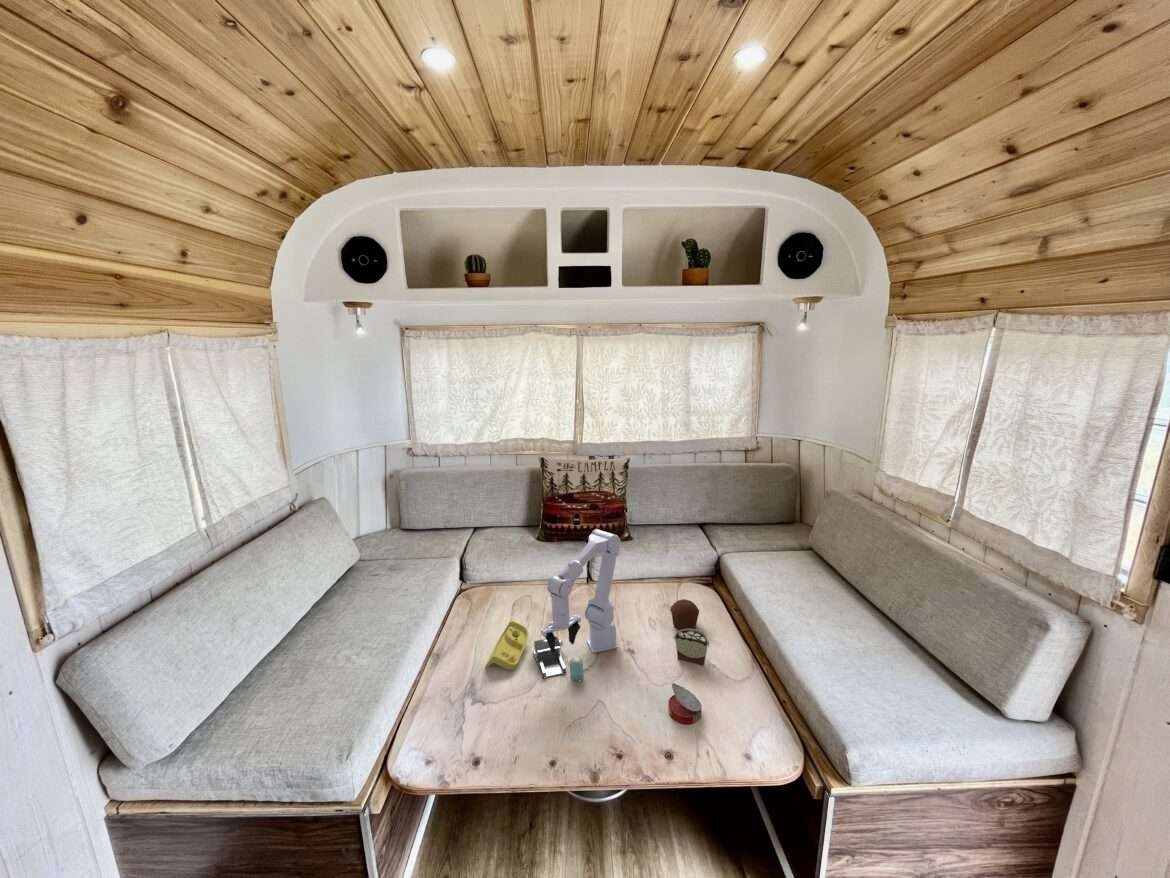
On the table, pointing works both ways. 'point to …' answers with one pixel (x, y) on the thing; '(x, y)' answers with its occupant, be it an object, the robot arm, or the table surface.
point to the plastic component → (509, 646)
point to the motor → (549, 658)
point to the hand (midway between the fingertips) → (562, 647)
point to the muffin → (684, 614)
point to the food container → (691, 646)
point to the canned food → (684, 706)
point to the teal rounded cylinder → (576, 669)
